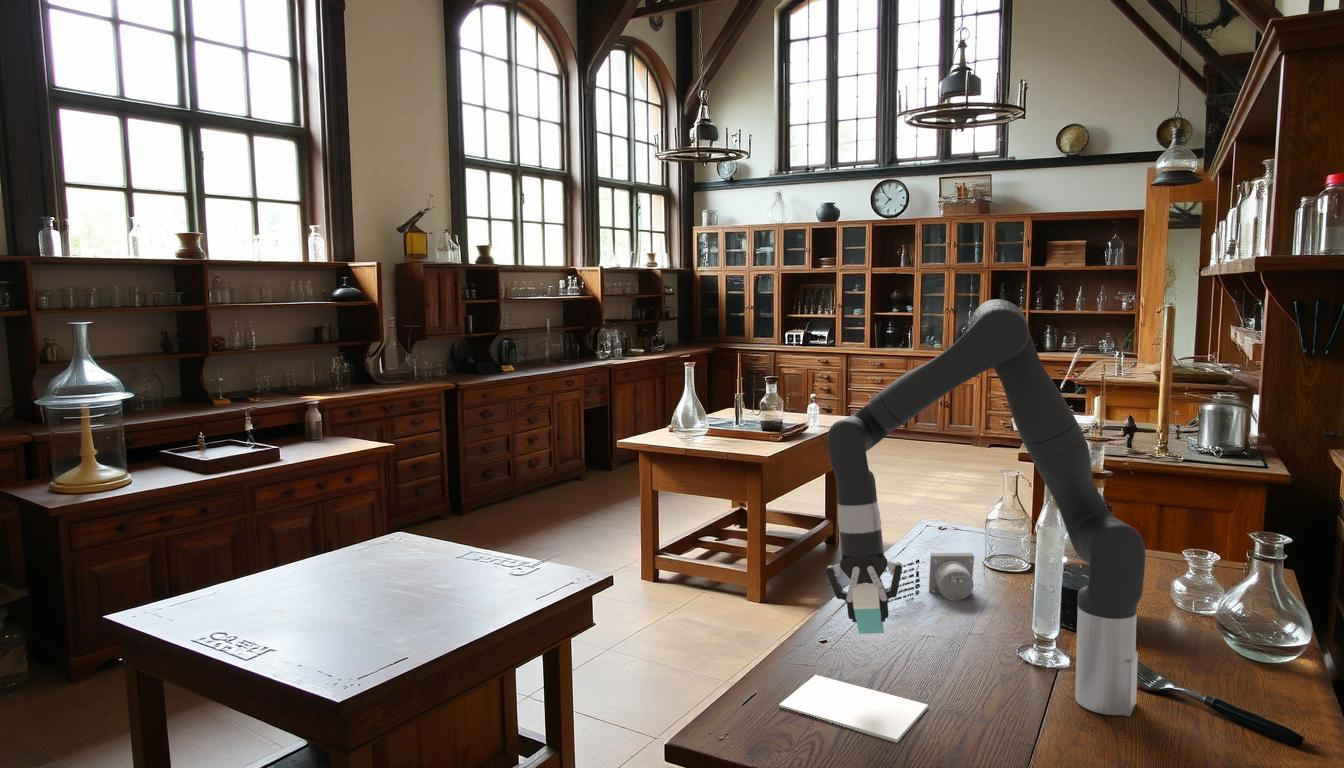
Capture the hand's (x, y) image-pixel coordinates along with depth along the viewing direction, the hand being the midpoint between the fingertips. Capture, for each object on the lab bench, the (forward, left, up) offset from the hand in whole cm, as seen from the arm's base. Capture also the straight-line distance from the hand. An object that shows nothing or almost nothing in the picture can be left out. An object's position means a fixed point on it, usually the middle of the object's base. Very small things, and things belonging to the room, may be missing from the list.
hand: (869, 620), depth 160 cm
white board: (0, +7, -14) cm, 15 cm away
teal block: (+1, -4, -2) cm, 5 cm away
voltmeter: (+8, -50, -14) cm, 52 cm away
